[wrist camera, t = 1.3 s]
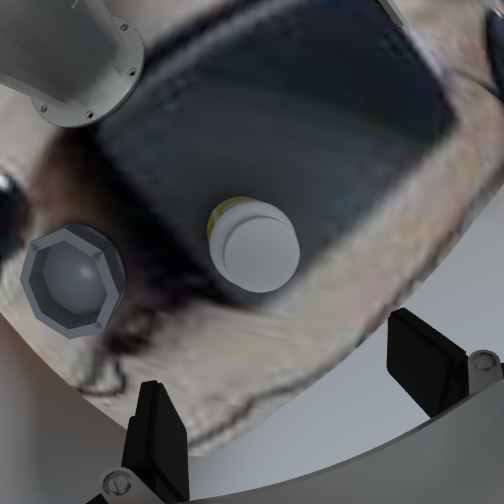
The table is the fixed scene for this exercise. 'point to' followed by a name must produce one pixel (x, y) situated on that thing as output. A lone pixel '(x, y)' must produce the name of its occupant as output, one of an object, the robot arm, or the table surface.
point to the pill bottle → (252, 244)
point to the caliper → (395, 14)
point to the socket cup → (74, 280)
